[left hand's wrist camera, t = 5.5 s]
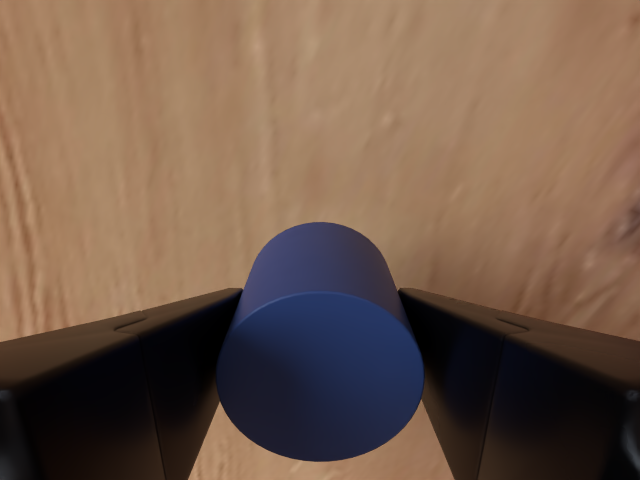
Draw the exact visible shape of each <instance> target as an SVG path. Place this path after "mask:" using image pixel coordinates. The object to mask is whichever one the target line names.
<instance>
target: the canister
mask: <svg viewBox="0 0 640 480" xmlns="http://www.w3.org/2000/svg"><path fill="white" fill-rule="evenodd" d="M424 382H425V369H424V362H423V358H422V353H421V351H420V348H419V346H418V343H417V341H416V338H415V335H414V333H413V330H412V328H411V325H410V322H409V320H408V317H407V315H406V312H405V310H404V307H403V304H402V302H401V299H400V297H399V294H398V291H397V289H396V286H395V284H394V281H393V278H392V276H391V273H390V271H389V268H388V266H387V263H386V261H385V259H384V257H383V255H382V254H381V252H380V251H379V250H378V248H377V247H376V246H375V245H374V244H373V243H372V242H371V241H370V240H369V239H368V238H366V237H365V236H364V235H362V234H361V233H359V232H357V231H355V230H353V229H351V228H348V227H346V226H343V225H339V224H335V223H326V222H313V223H306V224H301V225H298V226H294V227H292V228H290V229H287V230H285V231H283V232H282V233H280V234H278V235H277V236H275V237H274V238H273V239H272V240H270V241H269V242H268V243H267V244H266V245H265V246H264V247H263V249H262V250H261V252H260V253H259V254H258V256H257V258H256V260H255V262H254V264H253V267H252V269H251V272H250V274H249V277H248V280H247V282H246V285H245V287H244V290H243V292H242V295H241V298H240V300H239V303H238V305H237V308H236V311H235V313H234V316H233V318H232V321H231V324H230V326H229V329H228V331H227V334H226V336H225V339H224V342H223V344H222V347H221V350H220V352H219V355H218V359H217V364H216V387H217V392H218V396H219V399H220V402H221V404H222V406H223V408H224V411H225V413H226V414H227V416H228V417H229V419H230V420H231V422H232V423H233V424H234V425H235V426H236V427H237V428H238V430H239V431H240V432H242V433H243V434H244V435H245V436H246V437H247V438H248V439H250V440H251V441H253V442H254V443H256V444H257V445H259V446H261V447H263V448H265V449H266V450H268V451H271V452H273V453H276V454H278V455H281V456H285V457H288V458H292V459H297V460H303V461H314V462H327V461H337V460H344V459H348V458H353V457H356V456H359V455H362V454H365V453H367V452H370V451H372V450H374V449H376V448H378V447H380V446H381V445H383V444H385V443H386V442H388V441H389V440H390V439H392V438H393V437H394V436H396V435H397V434H398V433H399V432H400V431H401V430H402V429H403V428H404V427H405V426H406V424H407V423H408V422H409V421H410V419H411V418H412V416H413V415H414V413H415V411H416V410H417V408H418V405H419V403H420V400H421V397H422V393H423V389H424Z"/></svg>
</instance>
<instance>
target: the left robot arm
mask: <svg viewBox="0 0 640 480" xmlns="http://www.w3.org/2000/svg"><path fill="white" fill-rule="evenodd" d="M242 292H243V289H242V288H228V289H224V290H220V291H216V292H212V293H208V294H204V295H201V296H197V297H193V298H189V299H185V300H181V301H177V302H173V303H170V304H166V305H162V306H158V307H154V308H150V309H146V310H143V311H136V312H133V313H129V314H125V315H120V316H116V317H112V318H108V319H104V320H99V321H95V322H91V323H86V324H82V325H77V326H73V327H68V328H63V329H59V330H54V331H50V332H45V333H40V334H36V335H31V336H27V337H22V338H18V339H13V340H8V341H4V342H0V480H188V478H189V476H190V473H191V471H192V468H193V466H194V463H195V461H196V458H197V456H198V454H199V451H200V449H201V446H202V444H203V441H204V439H205V436H206V434H207V431H208V429H209V426H210V424H211V422H212V419H213V417H214V414H215V412H216V409H217V407H218V404H219V402H220V399H219V396H218V392H217V387H216V364H217V359H218V355H219V352H220V350H221V347H222V344H223V342H224V339H225V336H226V334H227V331H228V329H229V326H230V324H231V321H232V318H233V316H234V313H235V311H236V308H237V305H238V303H239V300H240V298H241V295H242ZM398 294H399V297H400V299H401V302H402V304H403V307H404V310H405V312H406V315H407V317H408V320H409V322H410V325H411V328H412V330H413V333H414V335H415V338H416V341H417V343H418V346H419V348H420V351H421V353H422V358H423V362H424V369H425V382H424V389H423V393H422V397H421V399H422V402H423V404H424V406H425V409H426V411H427V414H428V416H429V419H430V421H431V423H432V426H433V428H434V431H435V433H436V436H437V438H438V440H439V443H440V445H441V448H442V450H443V452H444V455H445V457H446V460H447V462H448V465H449V467H450V469H451V472H452V474H453V477H454V479H455V480H640V341H635V340H631V339H626V338H621V337H617V336H612V335H607V334H603V333H598V332H594V331H589V330H584V329H580V328H575V327H571V326H566V325H561V324H557V323H552V322H548V321H543V320H539V319H535V318H530V317H526V316H522V315H518V314H514V313H510V312H506V311H500V310H496V309H492V308H488V307H484V306H481V305H477V304H473V303H469V302H465V301H461V300H457V299H453V298H449V297H445V296H441V295H438V294H434V293H430V292H426V291H422V290H418V289H414V288H400V289H399V290H398Z"/></svg>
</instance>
